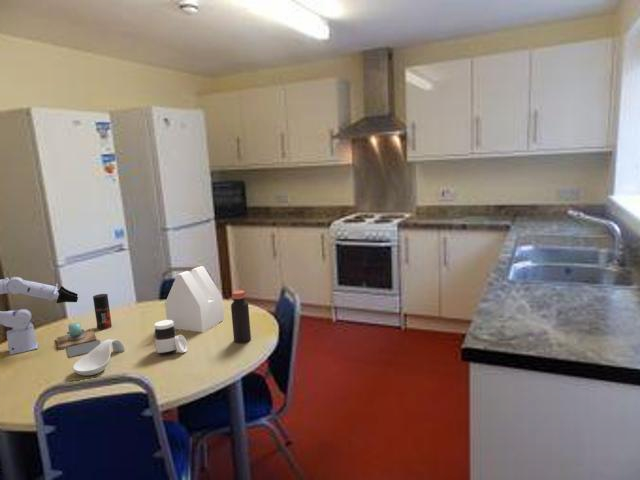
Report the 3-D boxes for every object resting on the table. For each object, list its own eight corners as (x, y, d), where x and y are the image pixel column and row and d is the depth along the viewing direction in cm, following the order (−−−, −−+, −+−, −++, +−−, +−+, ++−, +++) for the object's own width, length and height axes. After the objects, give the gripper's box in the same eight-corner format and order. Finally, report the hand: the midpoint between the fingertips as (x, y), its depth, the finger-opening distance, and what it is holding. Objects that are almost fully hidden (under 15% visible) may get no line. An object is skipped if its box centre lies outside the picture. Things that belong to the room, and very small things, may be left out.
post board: (58, 350, 180) (57, 343, 180) (57, 339, 192) (55, 333, 191) (96, 341, 187) (95, 334, 187) (93, 331, 199) (92, 325, 199)
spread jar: (155, 349, 176) (152, 320, 174) (185, 343, 180) (182, 315, 178) (157, 360, 165) (154, 330, 163) (189, 354, 169) (186, 324, 167)
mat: (68, 358, 172) (68, 357, 172) (66, 348, 182) (66, 347, 182) (103, 349, 178) (103, 348, 178) (99, 340, 188) (99, 339, 188)
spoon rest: (99, 380, 152) (96, 360, 151) (66, 380, 153) (63, 360, 152) (133, 351, 176) (131, 333, 174) (104, 351, 177) (102, 334, 175)
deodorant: (108, 324, 208) (103, 293, 206) (114, 326, 205) (109, 294, 202) (95, 328, 204) (90, 296, 201) (101, 330, 200) (96, 298, 198)
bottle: (247, 343, 176) (243, 294, 173) (231, 343, 178) (226, 294, 174) (253, 337, 183) (249, 289, 179) (237, 336, 184) (233, 289, 181)
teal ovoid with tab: (67, 337, 186) (66, 328, 185) (67, 334, 190) (65, 325, 189) (84, 333, 189) (83, 324, 188) (83, 330, 193) (82, 321, 192)
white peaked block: (224, 320, 205) (219, 267, 201) (202, 332, 192) (197, 275, 187) (190, 316, 213) (185, 265, 209) (167, 328, 199) (161, 273, 195)
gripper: (43, 283, 178) (80, 291, 184) (45, 278, 190) (79, 286, 197) (37, 300, 177) (75, 308, 184) (39, 294, 190) (74, 302, 196)
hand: (77, 298), depth 190 cm, fingers open, 7 cm apart
